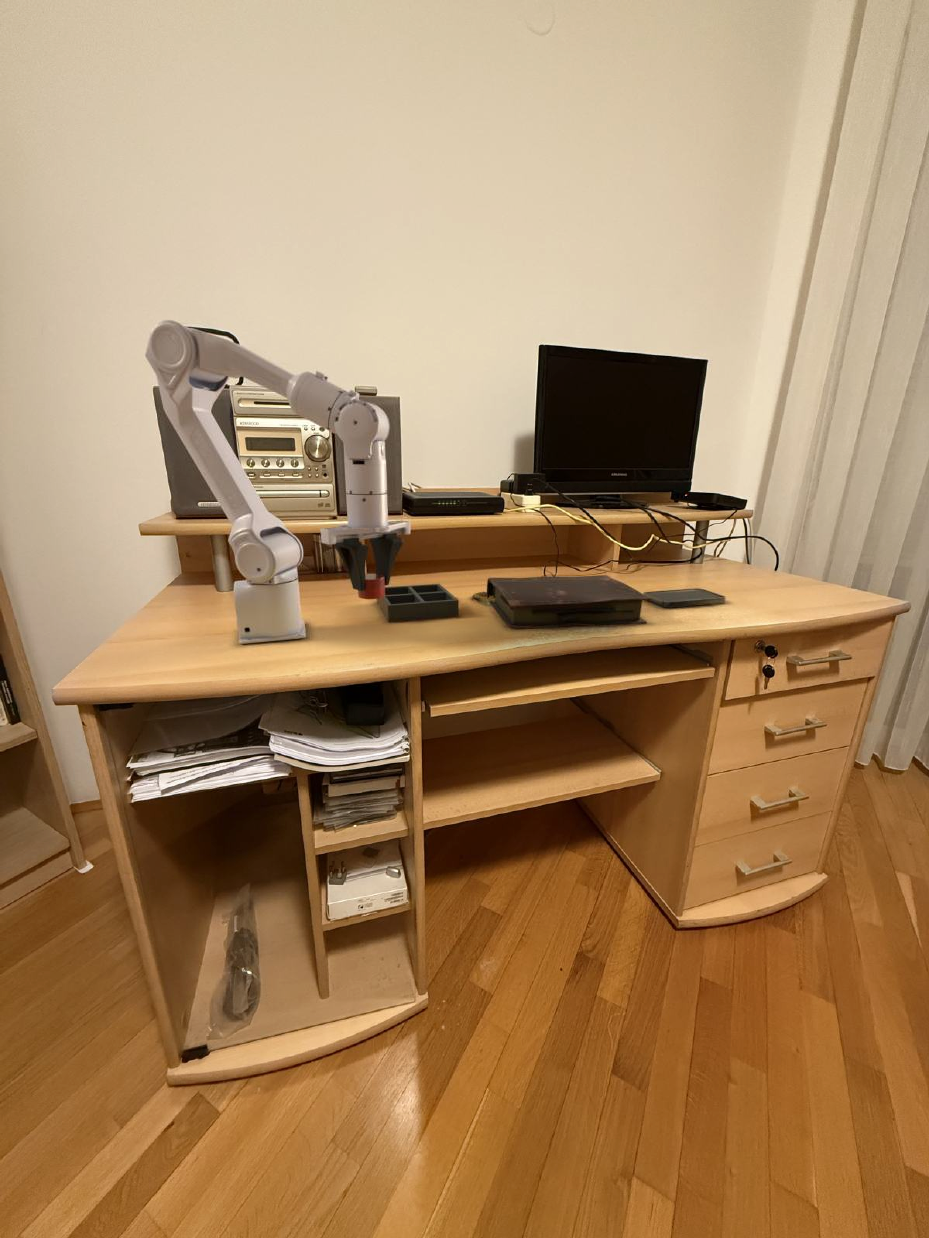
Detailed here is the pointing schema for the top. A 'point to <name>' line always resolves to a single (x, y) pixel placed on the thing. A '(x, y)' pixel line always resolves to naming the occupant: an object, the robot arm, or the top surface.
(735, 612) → the top surface
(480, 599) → the seal
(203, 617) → the top surface
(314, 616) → the top surface
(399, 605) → the tray
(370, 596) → the red short cylinder
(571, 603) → the diary
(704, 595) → the phone
